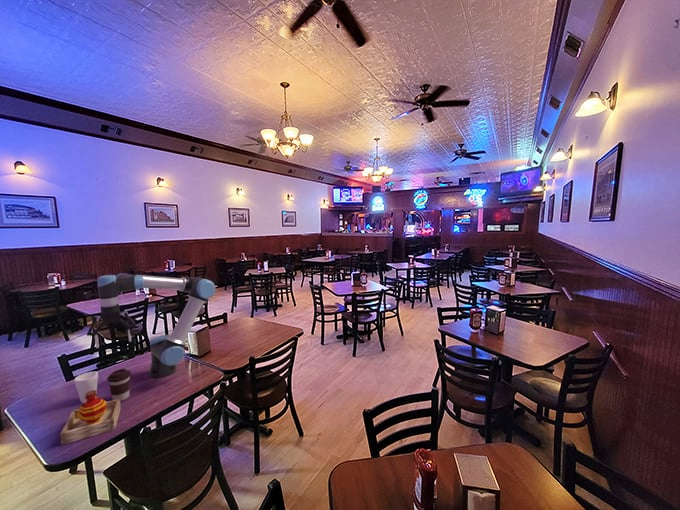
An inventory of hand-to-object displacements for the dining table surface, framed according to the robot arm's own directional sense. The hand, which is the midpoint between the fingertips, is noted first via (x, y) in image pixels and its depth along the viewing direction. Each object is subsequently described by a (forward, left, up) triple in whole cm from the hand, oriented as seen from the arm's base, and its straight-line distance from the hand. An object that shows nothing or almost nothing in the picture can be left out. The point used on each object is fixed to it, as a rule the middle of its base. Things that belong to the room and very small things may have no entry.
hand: (114, 343), depth 149 cm
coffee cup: (-1, 0, -31) cm, 31 cm away
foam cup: (+14, -8, -31) cm, 35 cm away
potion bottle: (+7, +19, -30) cm, 36 cm away
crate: (+7, +19, -31) cm, 37 cm away
